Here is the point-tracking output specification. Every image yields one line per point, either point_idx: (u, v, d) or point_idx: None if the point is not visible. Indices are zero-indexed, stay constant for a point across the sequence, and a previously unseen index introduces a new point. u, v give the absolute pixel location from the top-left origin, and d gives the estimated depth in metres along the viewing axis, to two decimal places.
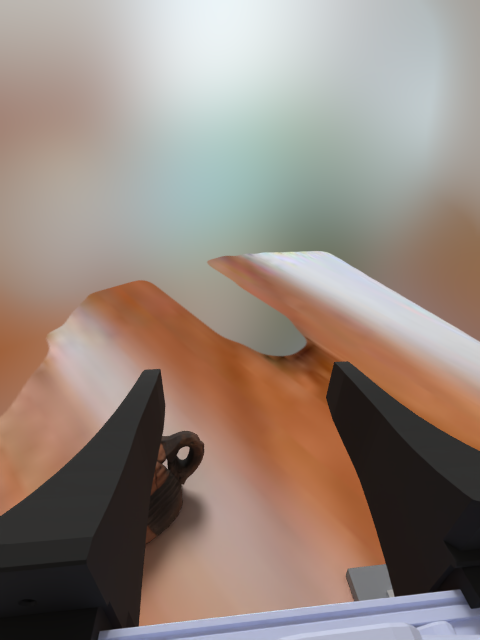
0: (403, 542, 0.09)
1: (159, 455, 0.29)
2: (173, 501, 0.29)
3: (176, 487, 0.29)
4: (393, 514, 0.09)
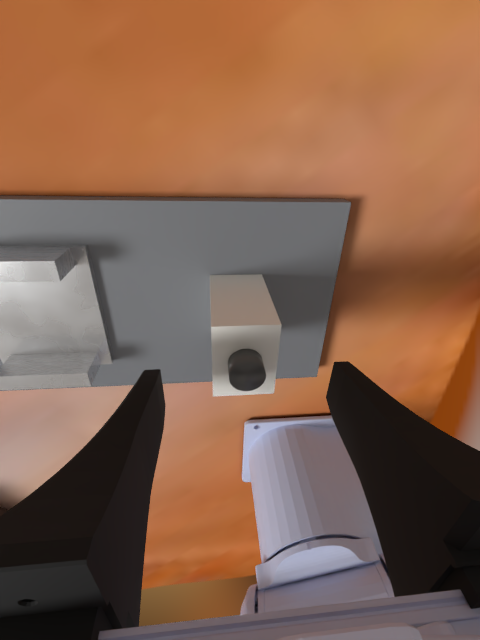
0: (403, 542, 0.09)
1: None
2: None
3: None
4: (393, 514, 0.09)
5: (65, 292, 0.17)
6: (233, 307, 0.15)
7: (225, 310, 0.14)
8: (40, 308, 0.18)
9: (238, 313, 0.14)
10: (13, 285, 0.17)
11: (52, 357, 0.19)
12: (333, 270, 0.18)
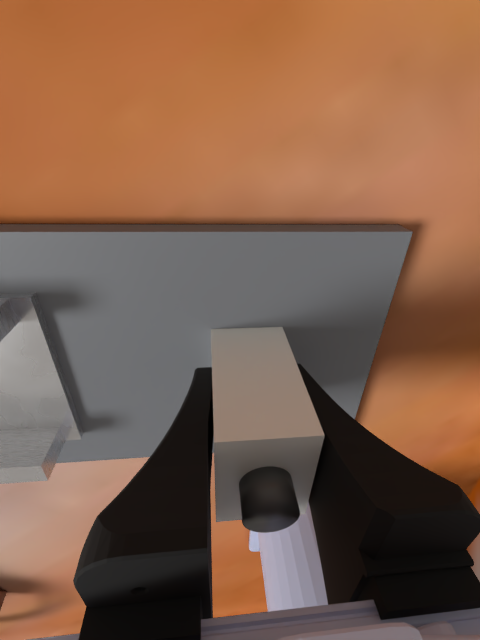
0: (332, 549, 0.09)
1: None
2: None
3: None
4: (326, 520, 0.09)
5: (8, 356, 0.12)
6: (247, 396, 0.10)
7: (235, 402, 0.10)
8: None
9: (255, 409, 0.09)
10: None
11: None
12: (379, 320, 0.14)
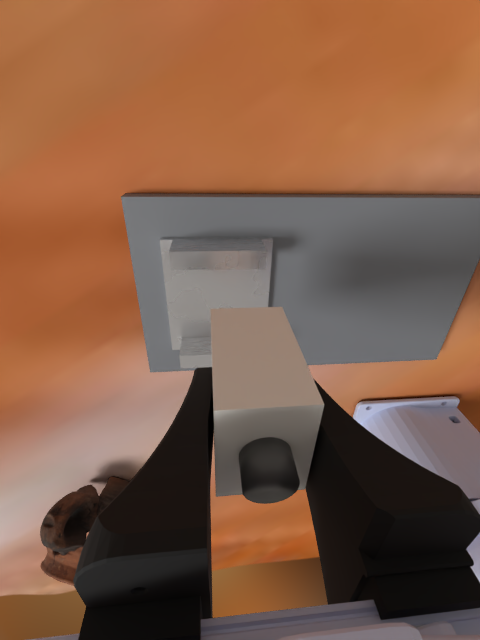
0: (332, 549, 0.09)
1: None
2: None
3: (106, 505, 0.28)
4: (326, 520, 0.09)
5: (244, 280, 0.19)
6: (247, 369, 0.10)
7: (234, 375, 0.10)
8: (219, 295, 0.20)
9: (254, 380, 0.09)
10: (202, 273, 0.19)
11: None
12: (475, 259, 0.20)
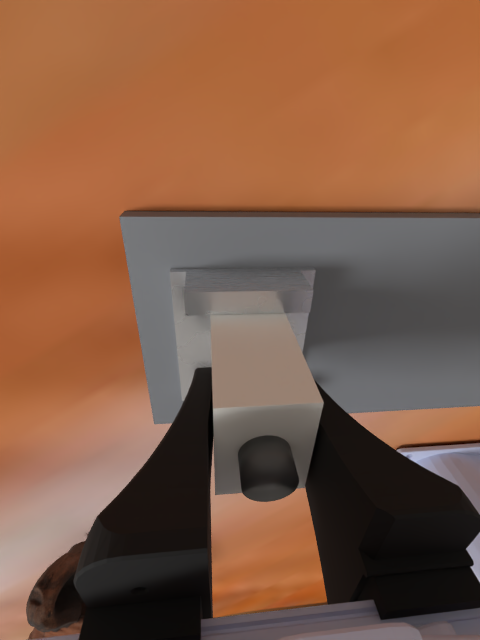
0: (333, 549, 0.09)
1: None
2: None
3: None
4: (326, 520, 0.09)
5: None
6: (246, 367, 0.10)
7: (234, 373, 0.09)
8: None
9: (254, 378, 0.09)
10: None
11: None
12: None
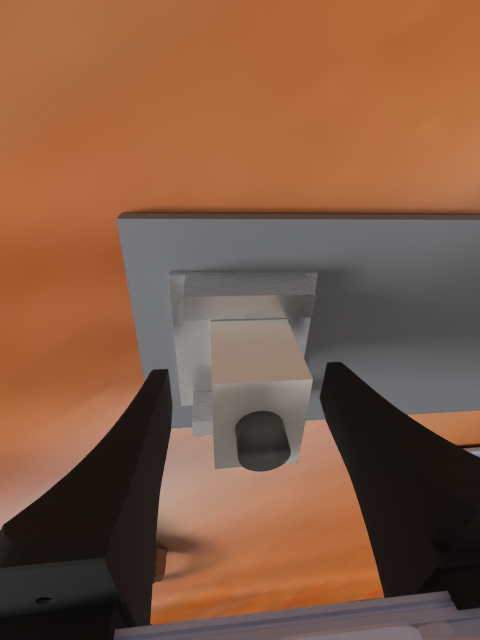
0: (393, 543, 0.09)
1: None
2: None
3: None
4: (383, 515, 0.09)
5: None
6: (243, 349, 0.11)
7: (231, 354, 0.10)
8: None
9: (249, 359, 0.10)
10: None
11: None
12: None
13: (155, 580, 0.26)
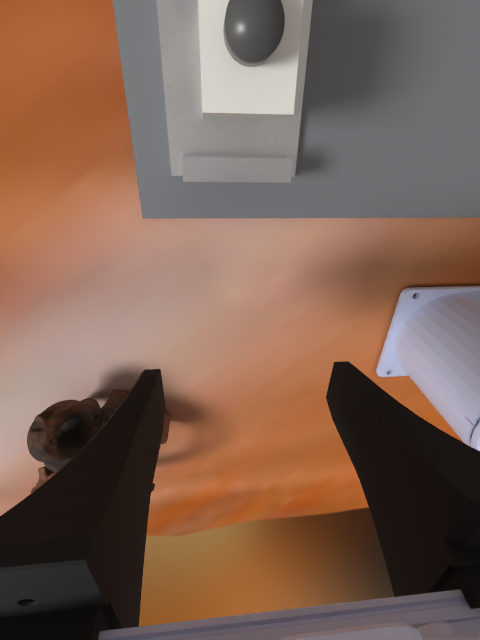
0: (403, 542, 0.09)
1: None
2: None
3: None
4: (393, 514, 0.09)
5: None
6: None
7: None
8: None
9: None
10: None
11: (236, 155, 0.15)
12: None
13: None
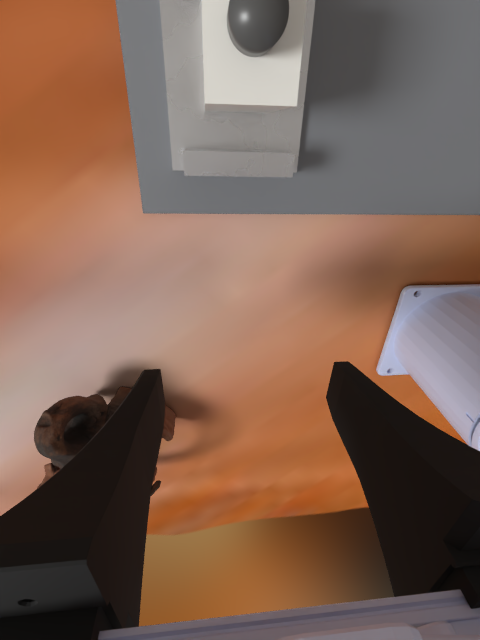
0: (403, 542, 0.09)
1: None
2: None
3: None
4: (393, 514, 0.09)
5: None
6: None
7: None
8: None
9: None
10: None
11: (237, 149, 0.15)
12: None
13: (164, 433, 0.24)
